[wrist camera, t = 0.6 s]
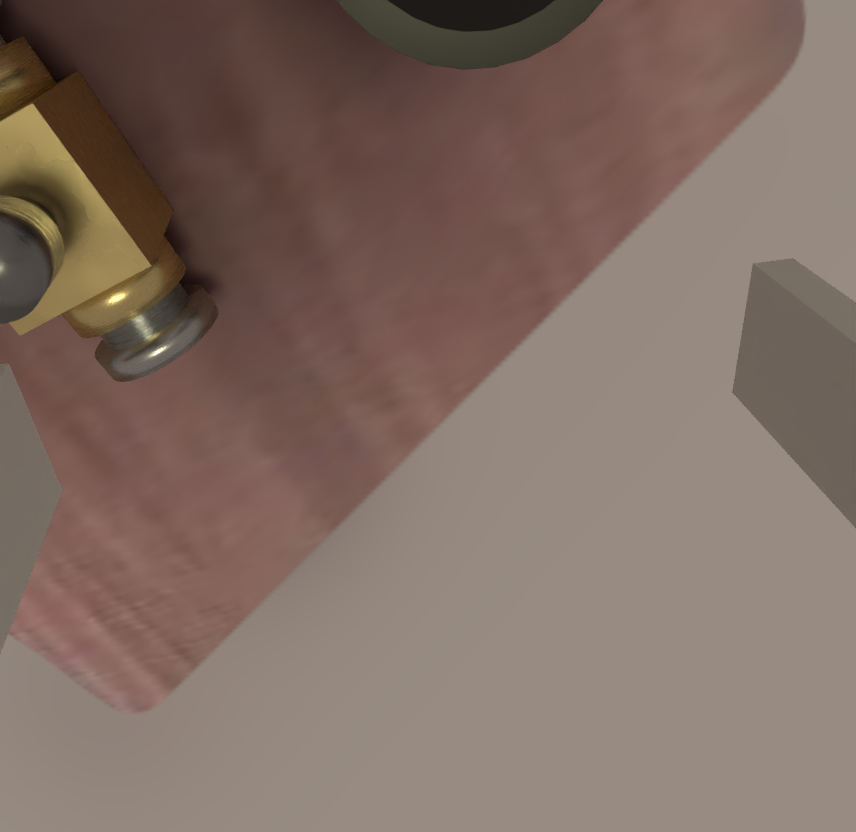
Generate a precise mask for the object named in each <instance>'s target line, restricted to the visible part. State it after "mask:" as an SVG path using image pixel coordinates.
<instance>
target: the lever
mask: <svg viewBox="0 0 856 832" xmlns="http://www.w3.org/2000/svg"><path fill="white" fill-rule="evenodd" d="M64 253H65V250H64V243H63V239H62V236H61V234H60V232H59V230H58V228H57V226H56V225H55V223H54V222H53V221H52V220H51V219H50V217H49V216H48V215H47V214H46V213H44V212H43V211H42V210H41V209H39V208H38V207H37V206H35V205H33V204H31V203H29V202H27V201H25V200H23V199H19V198H16V197H12V196H3V195H0V323H9V322H13V321H16V320H19V319H21V318H23V317H25V316H26V315H28V314H29V313H30V312H32V311H33V310H34V308H35V307H36V306H37V305H38V303H39V302H40V300H41V299H42V297H43V295H44V294H45V292H46V291H47V289H48V288H49V286H50V285H51V283H52V282H53V280H54V279H55V277H56V276H57V274H58V272H59V271H60V269H61V267H62V264H63V261H64Z"/></svg>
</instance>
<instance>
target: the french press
mask: <svg viewBox="0 0 856 832" xmlns="http://www.w3.org/2000/svg"><path fill="white" fill-rule="evenodd" d="M337 1H338V3H339V4H340V5H341V7H342V8H343V9H344V10H345V11H346V12H347V13H348V14H349V15H350V16H351V17H352V18H353V19H354V20H355V21H356V22H357V23H358V24H359V25H361V26H362V27H363V28H364V29H365V30H366V31H367V32H368V33H369V34H370V35H372V36H373V37H375V38H377V39H378V40H380V41H381V42H383V43H384V44H386V45H388V46H389V47H391V48H392V49H394V50H395V51H397V52H398V53H401V54H404V55H406V56H409V57H411V58H414V59H417V60H419V61H422V62H425V63H427V64H430V65H436V66H443V67H450V68H456V69H476V68H491V67H498V66H501V65H505V64H508V63H512V62H515V61H519V60H522V59H526V58H528V57H530V56H532V55H534V54H536V53H538V52H540V51H542V50H544V49H546V48H547V47H549V46H551V45H553V44H555V43H557V42H559V41H560V40H561V39H562V38H564V37H565V36H566V35H567V34H569V33H570V32H571V31H572V30H574V29H575V28H576V27H577V26H579V25H580V24H581V23H582V22H584V21H585V20H586V19H587V18H588V17H589V16H590V15H591V13H592V12H593V11H594V10H595V9H596V8H597V7H598V5H599V4H600V3H601V2H602V1H603V0H337Z"/></svg>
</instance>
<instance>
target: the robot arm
mask: <svg viewBox="0 0 856 832" xmlns="http://www.w3.org/2000/svg"><path fill="white" fill-rule="evenodd" d="M733 393H734V395H735V396H736V397H737V398H738V399H739V400H740V401H741V402H742V404H744V406H745V407H746V408H747V409H748V410H749V411H750V412H751V413H752V414H753V416H754V417H755V418H756V419H757V420H758V421H759V422H760V423H761V424H762V425H763V427H764V428H765V429H766V430H767V431H768V432H769V433H770V434H771V435H772V436H773V438H774V439H775V440H776V441H777V442H778V443H779V444H780V445H781V446H782V448H783V449H784V450H785V451H786V452H787V453H788V454H789V455H790V456H791V457H792V459H793V460H794V461H795V462H796V463H797V464H798V465H799V466H800V467H801V469H802V470H803V471H804V472H805V473H806V474H807V475H808V476H809V477H810V478H811V480H812V481H813V482H814V483H815V484H816V485H817V486H818V487H819V488H820V489H821V491H822V492H823V493H824V494H825V495H826V496H827V497H828V498H829V499H830V500H831V501H832V503H833V504H834V505H835V506H836V507H837V508H838V509H839V510H840V511H841V512H842V514H843V515H844V516H845V517H846V518H847V519H848V520H849V521H850V522H851V524H852V525H853V526H854V527H855V528H856V302H854V301H853V300H852V299H850V298H849V297H847V296H846V295H844V294H843V293H842V292H840V291H839V290H837V289H836V288H834V287H833V286H832V285H830V284H829V283H827V282H826V281H825V280H823V279H822V278H820V277H819V276H817V275H816V274H815V273H813V272H812V271H810V270H809V269H808V268H806V267H805V266H803V265H802V264H800V263H799V262H798V261H796V260H795V259H793V258H792V259H784V260H776V261H769V262H761V263H754V264H753V267H752V273H751V280H750V285H749V292H748V298H747V304H746V311H745V317H744V323H743V330H742V335H741V342H740V348H739V354H738V360H737V367H736V373H735V379H734V385H733ZM61 493H62V489H61V486H60V484H59V482H58V479H57V477H56V474H55V472H54V470H53V467H52V465H51V463H50V460H49V458H48V455H47V453H46V451H45V448H44V446H43V444H42V441H41V439H40V436H39V434H38V432H37V429H36V427H35V424H34V422H33V420H32V417H31V415H30V413H29V410H28V408H27V405H26V403H25V401H24V398H23V396H22V394H21V391H20V389H19V386H18V384H17V382H16V379H15V377H14V375H13V372H12V370H11V367H10V365H9V363H5V364H0V653H1V650H2V648H3V645H4V643H5V640H6V637H7V635H8V632H9V630H10V627H11V624H12V622H13V619H14V616H15V614H16V611H17V609H18V606H19V603H20V601H21V598H22V596H23V593H24V590H25V588H26V585H27V582H28V580H29V577H30V575H31V572H32V569H33V567H34V564H35V562H36V559H37V556H38V554H39V551H40V548H41V546H42V543H43V541H44V538H45V535H46V533H47V530H48V528H49V525H50V522H51V520H52V517H53V514H54V512H55V509H56V507H57V504H58V501H59V499H60V496H61Z"/></svg>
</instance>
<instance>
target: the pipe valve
mask: <svg viewBox="0 0 856 832" xmlns="http://www.w3.org/2000/svg"><path fill="white" fill-rule="evenodd" d="M2 3H3V2H2V1H1V0H0V5H1V4H2ZM0 195H3V196H12V197H16V198H19V199H23V200H25V201H27V202H29V203H31V204H33V205H35V206H37V207H38V208H39V209H41V210H42V211H43V212H44V213H46V214H47V215H48V216H49V217H50V219H51V220H52V221H53V222H54V223H55V225H56V226H57V228H58V230H59V232H60V234H61V236H62V239H63V243H64V250H65V253H64V261H63V264H62V267H61V269H60V271H59V272H58V274H57V276H56V277H55V279H54V280H53V282H52V283H51V285H50V286H49V288H48V289H47V291H46V292H45V294H44V295H43V297H42V299H41V300H40V302H39V303H38V305H37V306H36V307H35V308H34V310H33V311H32V312H30V313H29V314H28V315H26V316H25V317H23V318H21V319H19V320H16V321H13V322H9V324H10V325H11V326H12V327H13V328H14V329H15V331H16V332H17V333H18V334H19V335H20V336H21V335H22V334H24V333H26V332H28V331H30V330H32V329H34V328H36V327H37V326H39V325H41V324H43V323H45V322H47V321H49V320H51V319H52V318H54V317H56V316H58V315H60V314H62V315H63V317H64V318H65V319H66V320H67V321H68V323H69V324H70V325H71V326H72V327H73V329H74V330H75V331H76V332H77V333H78V335H79V336H80V337H82V338H92V337H96V336H100V337H101V338H102V339H103V340H102V341H101V342H100V344H99V345H98V347H97V349H96V352H95V358H96V359H97V361H98V362H99V363H100V364H101V365H102V367H103V368H104V369H105V370H106V371H107V372H108V374H109V375H110V376H111V377H112V378H113V380H115V381H119V382H125V381H130V380H134V379H137V378H140V377H143V376H145V375H148V374H150V373H152V372H154V371H156V370H158V369H160V368H162V367H163V366H165V365H167V364H168V363H170V362H172V361H173V360H175V359H176V358H178V357H179V356H180V355H182V354H183V353H184V352H186V351H187V350H188V349H190V348H191V347H192V346H193V345H194V344H195V343H197V342H198V341H199V340H200V339H201V338H202V337H203V336H204V335H205V334H206V332H207V331H208V330H209V329H210V328H211V326H212V325H213V323H214V322H215V320H216V318H217V315H218V308H217V306H216V305H215V303H214V302H213V301H212V299H211V298H210V296H209V295H208V293H207V292H206V291H205V289H204V288H203V286H201V285H199V284H189V285H184V286H181V285H180V283H179V282H180V280H181V279H182V277H183V276H184V274H185V272H186V266H185V264H184V263H183V262H182V260H181V259H180V257H179V256H178V255H177V253H176V252H175V250H174V249H173V247H172V246H171V245H170V243H169V242H168V240H167V239H166V238H165V236H164V233H165V231H166V228H167V226H168V223H169V221H170V218H171V216H172V213H173V211H174V210H173V209H172V207H171V206H170V205H169V203H168V202H167V200H166V199H165V197H164V196H163V194H162V193H161V191H160V190H159V188H158V187H157V186H156V184H155V183H154V181H153V180H152V178H151V177H150V175H149V174H148V172H147V171H146V169H145V168H144V167H143V165H142V164H141V162H140V161H139V159H138V158H137V156H136V155H135V153H134V152H133V150H132V149H131V148H130V146H129V145H128V143H127V142H126V140H125V139H124V137H123V136H122V134H121V133H120V131H119V130H118V129H117V127H116V126H115V124H114V123H113V121H112V120H111V118H110V117H109V115H108V114H107V113H106V111H105V110H104V108H103V107H102V105H101V104H100V102H99V101H98V99H97V98H96V96H95V95H94V94H93V92H92V91H91V89H90V88H89V86H88V85H87V83H86V82H85V80H84V79H83V77H82V76H81V75H80V73H79V72H78V71H76V72H74V73H72V74H71V75H69V76H67V77H65V78H64V79H62V80H60V81H59V82H57V83H56V82H55V80H54V79H53V77H52V76H51V75H50V73H49V72H48V70H47V69H46V67H45V66H44V65H43V63H42V62H41V60H40V59H39V58H38V56H37V55H36V53H35V52H34V50H33V49H32V48H31V46H30V45H29V43H28V42H27V41H26V39H25V38H24V36H22V37H20V38H18V39H15V40H13V41H11V42H10V43H8V44H7V43H6V42H5V40H4V39H3V37H2V36H1V35H0Z"/></svg>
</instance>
